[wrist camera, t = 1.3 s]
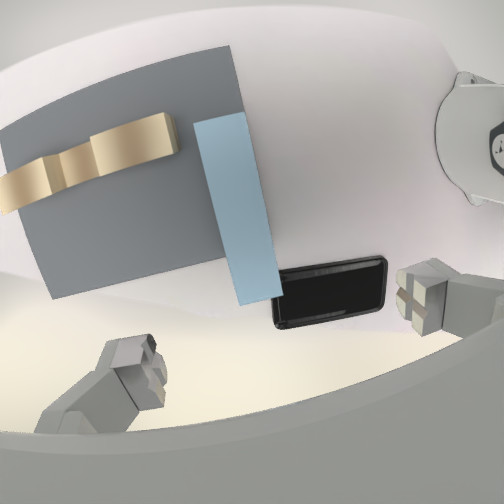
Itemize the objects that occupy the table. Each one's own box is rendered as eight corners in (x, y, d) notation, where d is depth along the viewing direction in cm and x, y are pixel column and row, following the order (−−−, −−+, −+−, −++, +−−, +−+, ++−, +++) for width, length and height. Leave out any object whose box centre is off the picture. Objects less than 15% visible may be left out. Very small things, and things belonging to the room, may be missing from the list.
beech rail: (173, 117, 30) (163, 112, 23) (181, 150, 31) (173, 153, 24) (27, 171, 29) (-8, 181, 22) (35, 200, 30) (2, 215, 24)
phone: (270, 274, 36) (388, 256, 38) (268, 270, 37) (384, 253, 39) (274, 331, 39) (383, 310, 40) (273, 326, 40) (380, 306, 41)
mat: (228, 46, 28) (229, 45, 28) (272, 244, 36) (273, 245, 36) (-1, 131, 27) (-2, 131, 26) (53, 298, 35) (52, 299, 34)
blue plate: (233, 119, 30) (244, 111, 20) (262, 247, 35) (283, 295, 25) (199, 127, 30) (193, 123, 20) (230, 255, 35) (239, 306, 25)
